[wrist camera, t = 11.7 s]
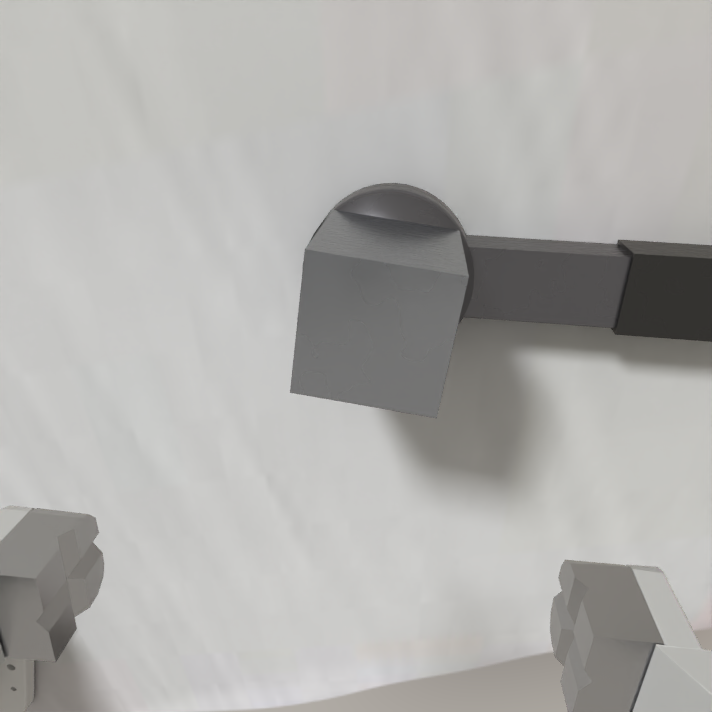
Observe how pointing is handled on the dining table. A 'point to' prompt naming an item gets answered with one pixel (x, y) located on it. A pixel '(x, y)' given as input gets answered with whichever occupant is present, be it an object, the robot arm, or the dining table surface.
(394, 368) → the plain grey cube block
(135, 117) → the dining table surface
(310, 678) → the dining table surface
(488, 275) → the ratchet
